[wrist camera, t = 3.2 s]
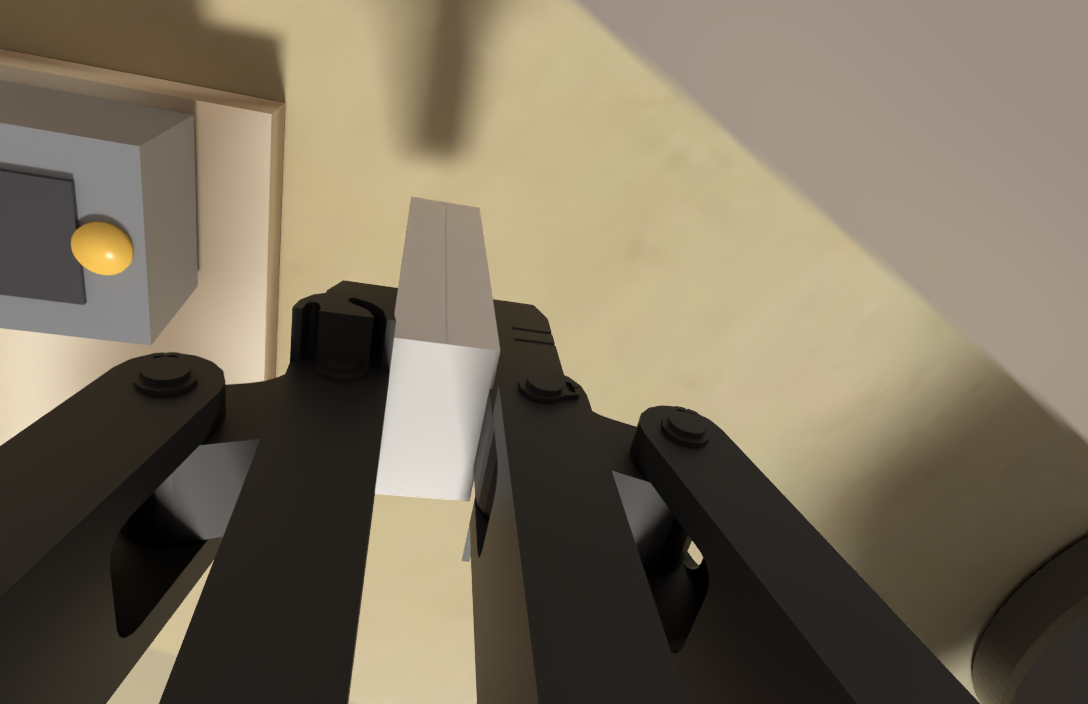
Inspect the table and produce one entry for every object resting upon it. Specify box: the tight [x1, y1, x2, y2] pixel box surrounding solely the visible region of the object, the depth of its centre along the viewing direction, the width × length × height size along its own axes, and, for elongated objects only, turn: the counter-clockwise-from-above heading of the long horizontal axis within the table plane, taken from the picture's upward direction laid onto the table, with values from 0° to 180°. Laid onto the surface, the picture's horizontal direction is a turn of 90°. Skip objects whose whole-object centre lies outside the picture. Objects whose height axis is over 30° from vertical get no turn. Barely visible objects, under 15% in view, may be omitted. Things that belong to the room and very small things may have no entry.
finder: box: [0, 80, 198, 346], centre depth 14 cm, size 4×4×3 cm
